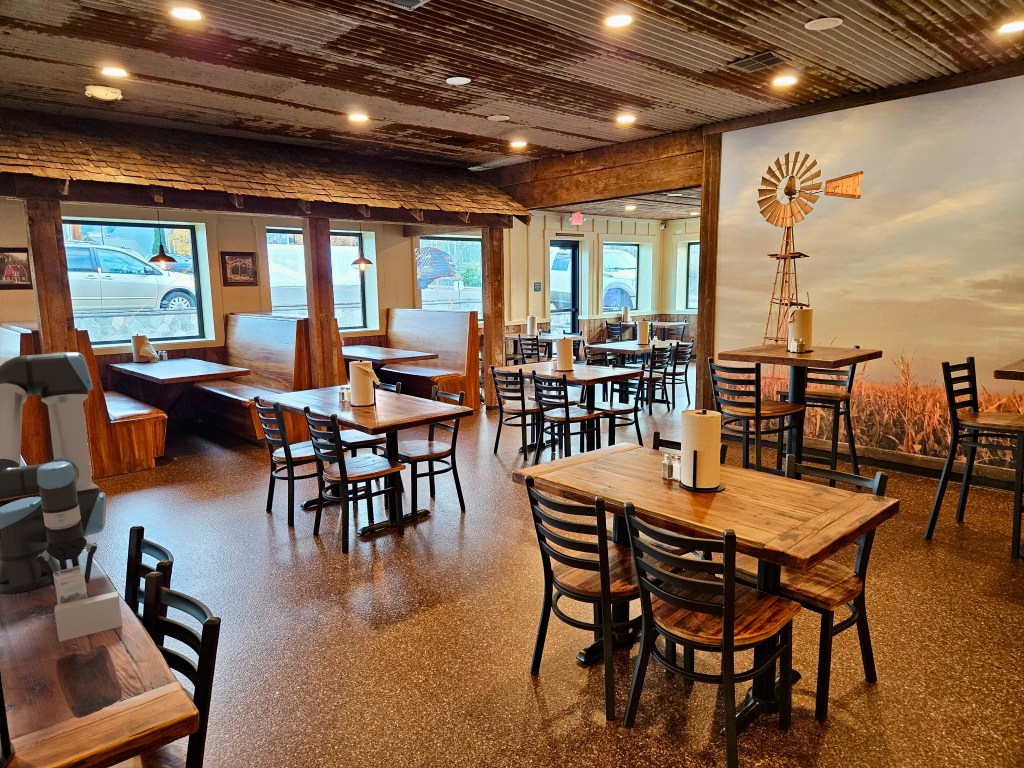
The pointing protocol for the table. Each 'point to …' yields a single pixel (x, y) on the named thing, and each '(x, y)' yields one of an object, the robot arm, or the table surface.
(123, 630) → the table surface
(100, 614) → the board
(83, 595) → the syrup box
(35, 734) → the table surface
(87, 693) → the wooden tablet
